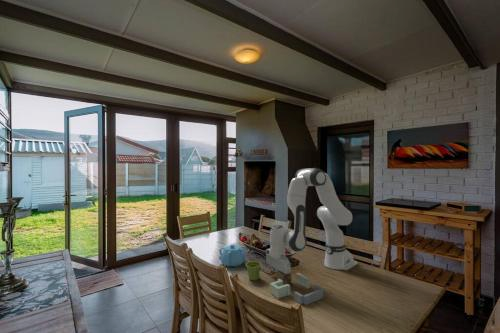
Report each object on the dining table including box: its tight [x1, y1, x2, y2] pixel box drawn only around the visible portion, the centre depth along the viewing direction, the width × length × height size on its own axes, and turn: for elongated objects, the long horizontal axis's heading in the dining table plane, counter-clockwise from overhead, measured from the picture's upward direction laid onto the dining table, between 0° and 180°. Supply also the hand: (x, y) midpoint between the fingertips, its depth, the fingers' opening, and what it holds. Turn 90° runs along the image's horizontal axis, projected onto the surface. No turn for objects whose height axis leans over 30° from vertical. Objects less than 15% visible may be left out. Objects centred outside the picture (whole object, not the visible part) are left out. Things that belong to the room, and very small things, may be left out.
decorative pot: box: [218, 243, 247, 268], centre depth 172 cm, size 16×16×14 cm
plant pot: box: [245, 260, 262, 281], centre depth 150 cm, size 9×9×9 cm
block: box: [276, 271, 292, 285], centre depth 143 cm, size 6×6×6 cm
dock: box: [293, 284, 324, 306], centre depth 125 cm, size 15×6×4 cm, turn 120°
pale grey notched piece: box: [269, 272, 311, 299], centre depth 135 cm, size 21×9×5 cm, turn 120°
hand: (278, 275), depth 148 cm, fingers closed
